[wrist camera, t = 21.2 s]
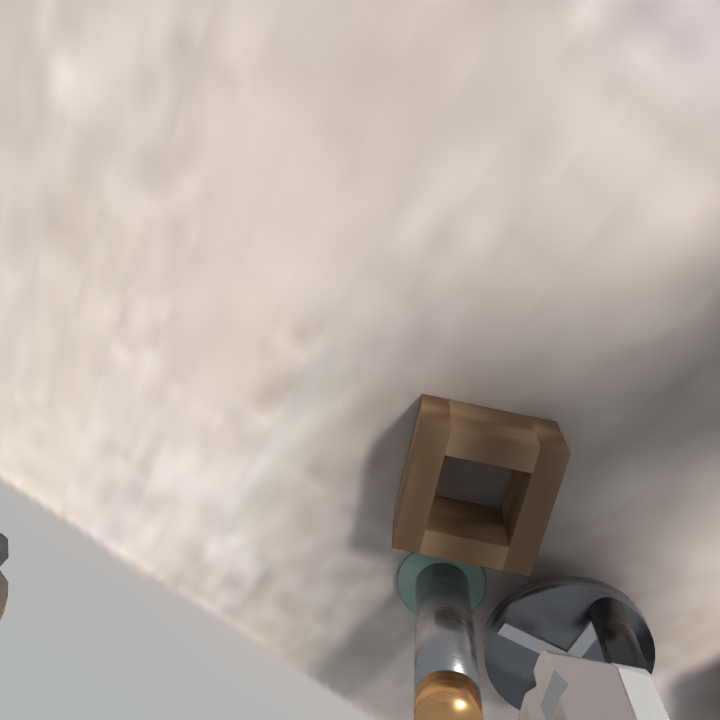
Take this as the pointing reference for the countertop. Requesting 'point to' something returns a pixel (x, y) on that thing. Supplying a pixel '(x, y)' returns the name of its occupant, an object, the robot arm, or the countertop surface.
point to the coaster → (420, 561)
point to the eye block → (468, 520)
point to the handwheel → (562, 631)
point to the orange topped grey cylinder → (445, 647)
